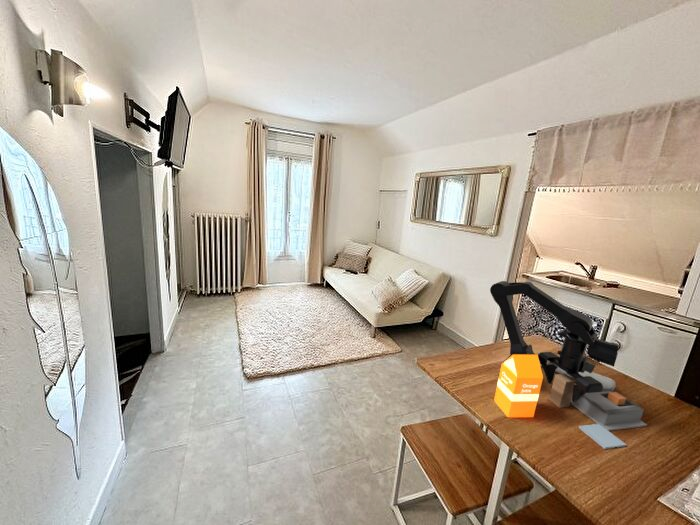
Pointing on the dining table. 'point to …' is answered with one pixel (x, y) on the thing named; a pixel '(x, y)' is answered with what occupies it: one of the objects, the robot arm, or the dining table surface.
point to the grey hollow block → (610, 411)
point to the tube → (605, 381)
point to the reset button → (616, 398)
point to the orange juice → (519, 385)
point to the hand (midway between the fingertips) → (561, 392)
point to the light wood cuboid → (562, 390)
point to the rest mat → (602, 436)
